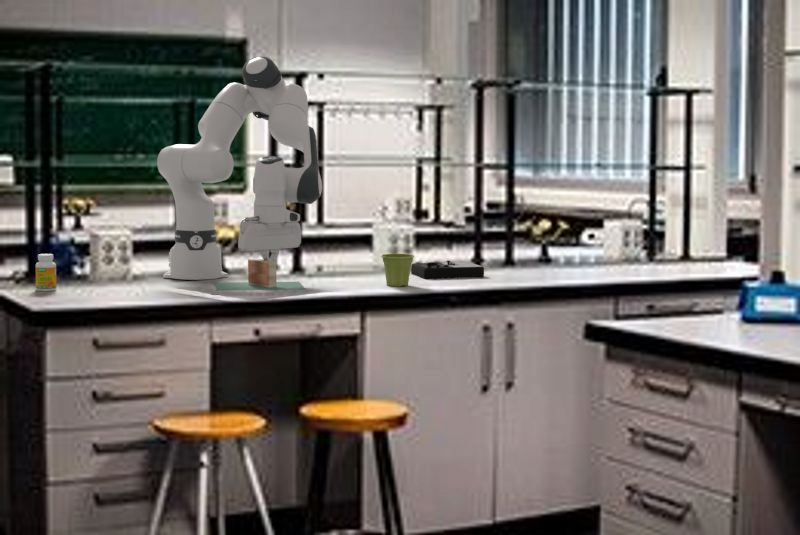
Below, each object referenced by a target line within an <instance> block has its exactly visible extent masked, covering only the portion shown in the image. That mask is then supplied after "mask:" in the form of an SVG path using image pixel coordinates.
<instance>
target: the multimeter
mask: <svg viewBox="0 0 800 535" xmlns="http://www.w3.org/2000/svg"><path fill="white" fill-rule="evenodd" d="M410 275H413V276H416V277H418V278H421V279H423V280H436V279H437V280H438V279H439V280H440V279H472V278H474V279H475V278H485V276H484V275H485V268H484V266H482V265H480V264H476V263H473V262H470V261H453V262H452V261H450V260H446V262H445V261H444V262H433V261H431V262H430V261H429V262H420V263H419V262H417V263H416V262H415V263H413V262H412V263H411V269H410Z"/></svg>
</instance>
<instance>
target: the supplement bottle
mask: <svg viewBox="0 0 800 535" xmlns="http://www.w3.org/2000/svg"><path fill="white" fill-rule="evenodd" d="M37 260H38V262H36V264H35V290H36V291H37V292H53V291H56V290H57V264H56V262H54V261H53V260H54V254H53V253H40V254H37Z"/></svg>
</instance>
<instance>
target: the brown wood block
mask: <svg viewBox="0 0 800 535" xmlns="http://www.w3.org/2000/svg"><path fill="white" fill-rule="evenodd" d="M247 277H248V278H247V280H248V281H247V282H248V284H250V285H256V286H263V287H269V288H270V287H277V282H278V281H277V260H276V261H271V260H264V259H263V258H262V259H261V258H249V259H247Z"/></svg>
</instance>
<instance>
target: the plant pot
mask: <svg viewBox="0 0 800 535" xmlns="http://www.w3.org/2000/svg"><path fill="white" fill-rule="evenodd" d="M380 256H381V258H382V262H383V267H384V274H385V280H386V281H385V283H386V286H389V287H397V288H399V287H407V286H409V281H410V275H411V265H412V264H413V259H414V257H415V255H414V254H412V253H411V254H409V253H384V254H381V255H380Z"/></svg>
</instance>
